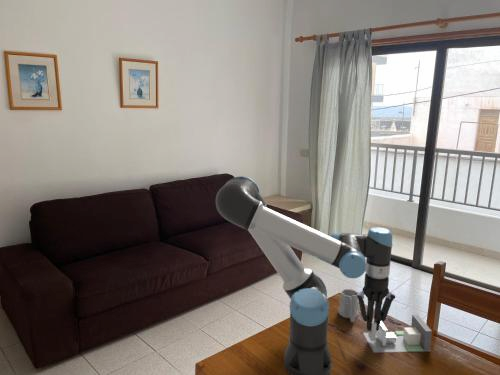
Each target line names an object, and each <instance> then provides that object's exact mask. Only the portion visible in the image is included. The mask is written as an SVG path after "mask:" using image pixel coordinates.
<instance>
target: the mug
mask: <svg viewBox="0 0 500 375" xmlns="http://www.w3.org/2000/svg"><path fill="white" fill-rule="evenodd" d="M357 292H358V291H357V290H354V289H352V288H351V289H350V288H349V289H348V288H346V289H342V290H341V292H340V297H339V308H338V311H337V312H338V314H339V315H340V316H341V317H343V318H346V319H350V323H355V320H356V318H357V317H359V315H360V314H359V300H358V298H357V296H356V293H357Z"/></svg>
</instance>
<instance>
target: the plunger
mask: <svg viewBox="0 0 500 375" xmlns="http://www.w3.org/2000/svg"><path fill="white" fill-rule="evenodd" d="M380 322H381V324H379V330H378V331H376V336H377V338H378V339H379V341H380V343H381V344H382V346H386V343H396V336H395V335H394V333H393V332H394V331H389V332H388V329H387V327H386V326H385V324H384V323H383V321H380Z"/></svg>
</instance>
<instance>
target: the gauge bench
mask: <svg viewBox="0 0 500 375" xmlns="http://www.w3.org/2000/svg"><path fill="white" fill-rule="evenodd" d="M411 317H412V318H411V323H410V324H411V325H410V327H416V329H417V330H418V331H419V332H420V334H421V338H420V345H408V344H407V343H406V341H405V340H404V338H403V334H404V330H395V331H392V332H393V333H394V335H395V336H396V343H386V346H382V344H381V343H380V341H379V339H378V338H377V336H376V337H375V341H371V340H370V338H369V337H368V333H369V332H362V333H363V336H364V337H365V339H366V341H367V342H368V345H369V347H370V348H371V350H372V352H373V353H403V352H404V353H406V352H407V353H411V352H413V353H414V352H415V353H416V352H431V344H432V335H433V334H432V333H433V330H432V329H431V328H430V327H429V326H428V324H426V322H425V321H424V320H423V319H422V318H421V317H420V315H419V314H412V315H411Z"/></svg>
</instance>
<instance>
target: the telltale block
mask: <svg viewBox="0 0 500 375" xmlns="http://www.w3.org/2000/svg"><path fill="white" fill-rule="evenodd" d="M403 331H404V334H403V338H404V340H405V341H406V343H407V344H408V345H420V338H421V334H420V332H419V331H418V330H417V329H416V327H411V326H409V327H403Z"/></svg>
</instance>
